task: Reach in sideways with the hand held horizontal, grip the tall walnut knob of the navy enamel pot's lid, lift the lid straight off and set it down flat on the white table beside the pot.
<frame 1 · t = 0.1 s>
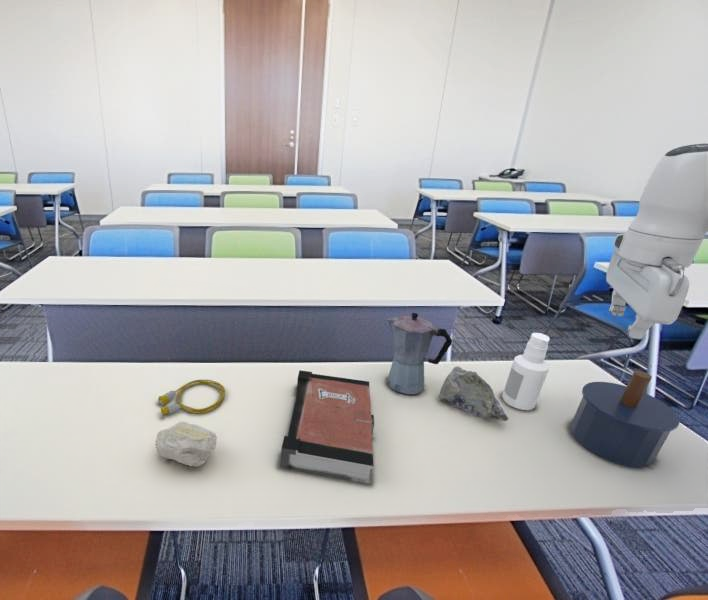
hand: (623, 324, 70), 29 cm above the table, tool pointing down, fingers open, 8 cm apart
book: (330, 429, 86), on the table
moka pot: (406, 386, 101), on the table
white rock: (186, 457, 78), on the table
extension cord: (192, 399, 95), on the table
pot: (609, 442, 84), on the table
mineral rock: (468, 411, 92), on the table
spray bottle: (517, 402, 96), on the table
lid: (627, 405, 80), point 9 cm above the table, touching pot
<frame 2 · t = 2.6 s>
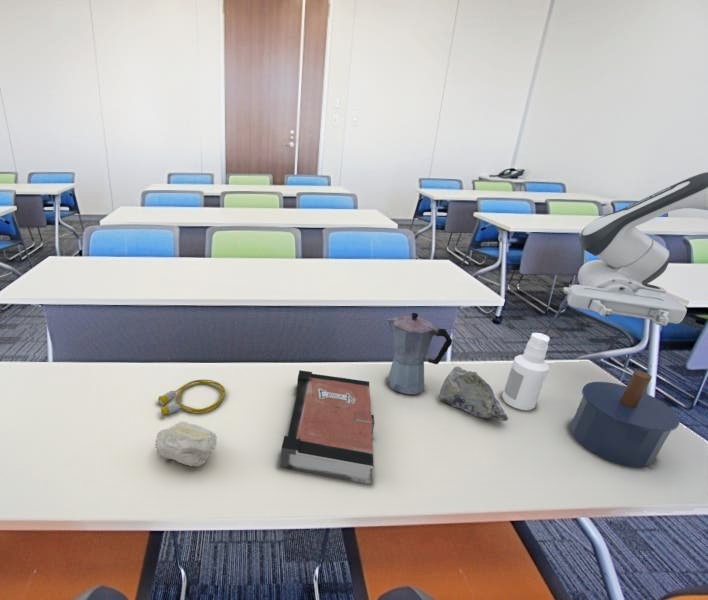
hand: (634, 317, 84), 24 cm above the table, tool horizontal, fingers open, 8 cm apart
nothing on the table moved.
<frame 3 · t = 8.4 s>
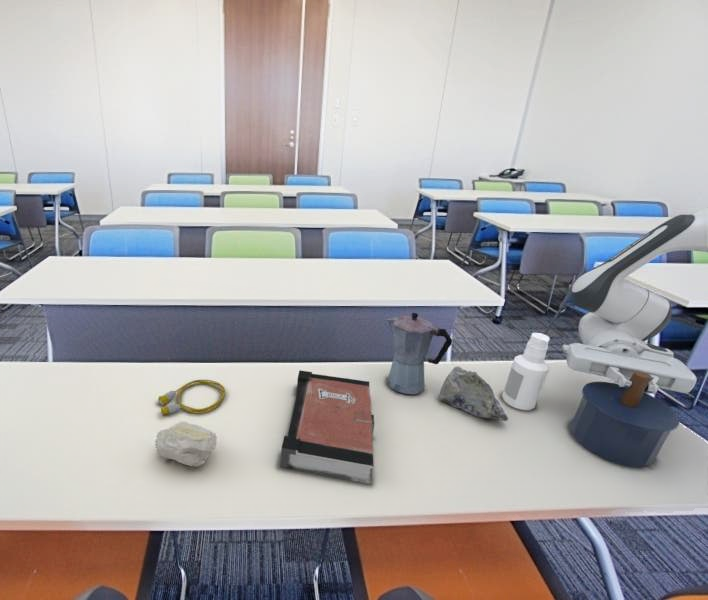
hand: (639, 387, 77), 15 cm above the table, tool horizontal, fingers closed on lid, 2 cm apart
lid: (627, 405, 80), point 10 cm above the table, touching gripper, pot
everything else where it was.
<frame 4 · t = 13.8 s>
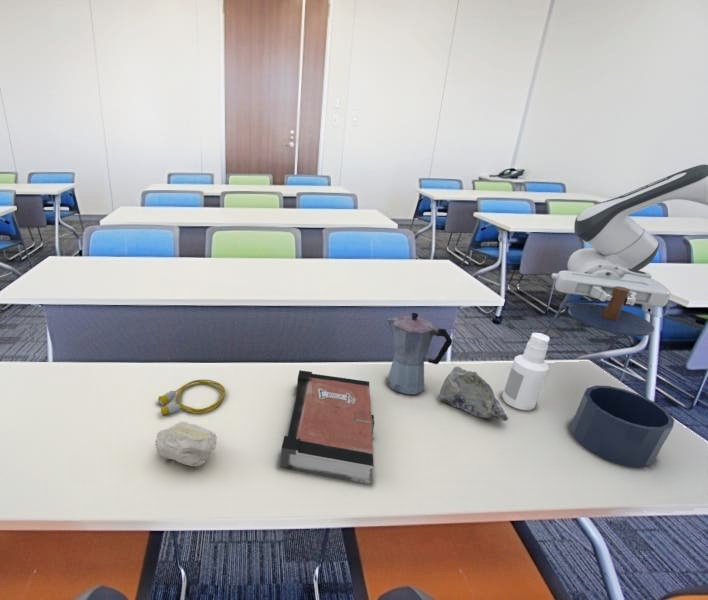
hand: (619, 300, 86), 27 cm above the table, tool horizontal, fingers closed on lid, 2 cm apart
lid: (608, 319, 88), point 21 cm above the table, touching gripper
everything else where it was.
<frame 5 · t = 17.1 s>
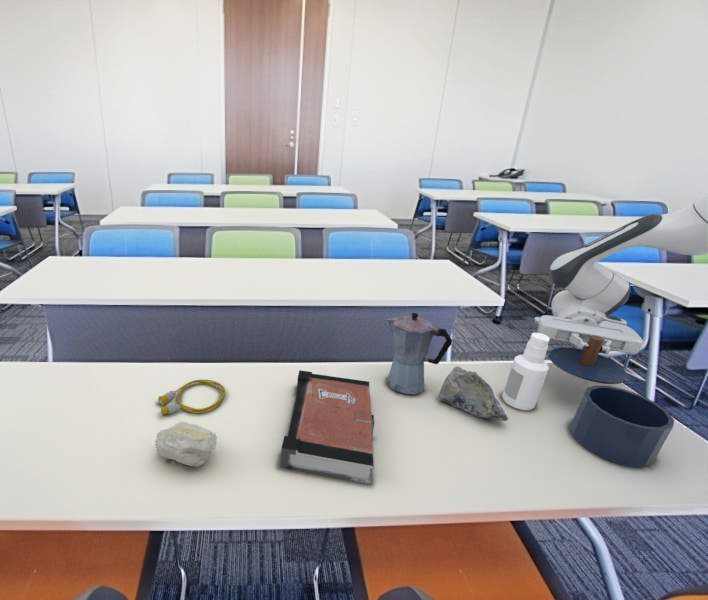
hand: (594, 349, 92), 14 cm above the table, tool horizontal, fingers closed on lid, 2 cm apart
lid: (585, 365, 95), point 9 cm above the table, touching gripper
everything else where it was.
when the fingers open (6 cm above the table, at t = 19.5 s): lid stays where it is, point 1 cm above the table.
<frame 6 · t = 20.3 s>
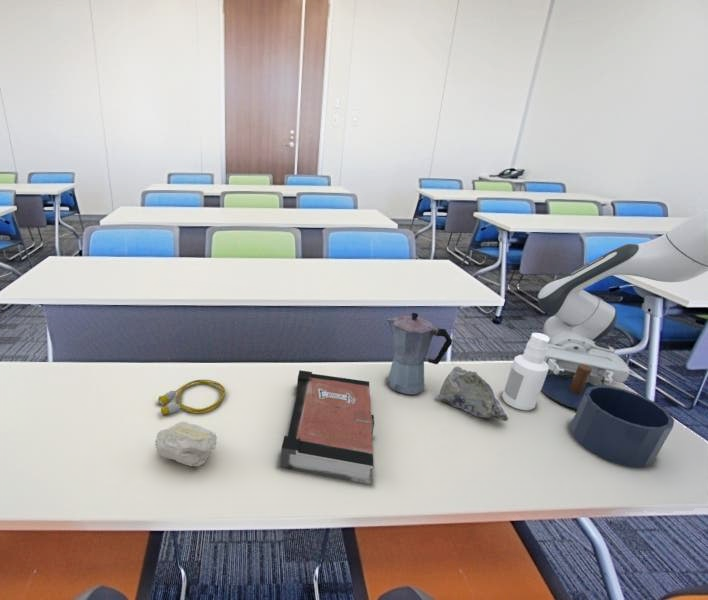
hand: (583, 377, 95), 6 cm above the table, tool horizontal, fingers open, 8 cm apart
lid: (574, 393, 98), point 1 cm above the table
everything else where it was.
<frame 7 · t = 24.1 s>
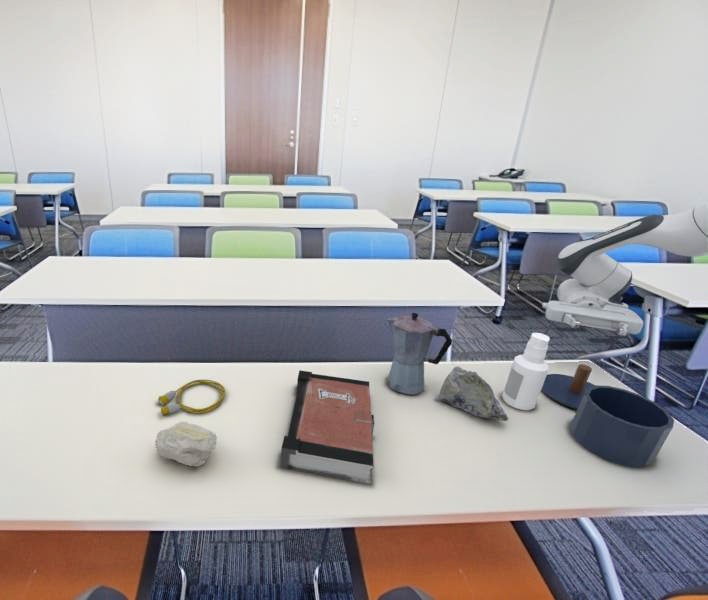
hand: (599, 329, 100), 14 cm above the table, tool horizontal, fingers open, 8 cm apart
nothing on the table moved.
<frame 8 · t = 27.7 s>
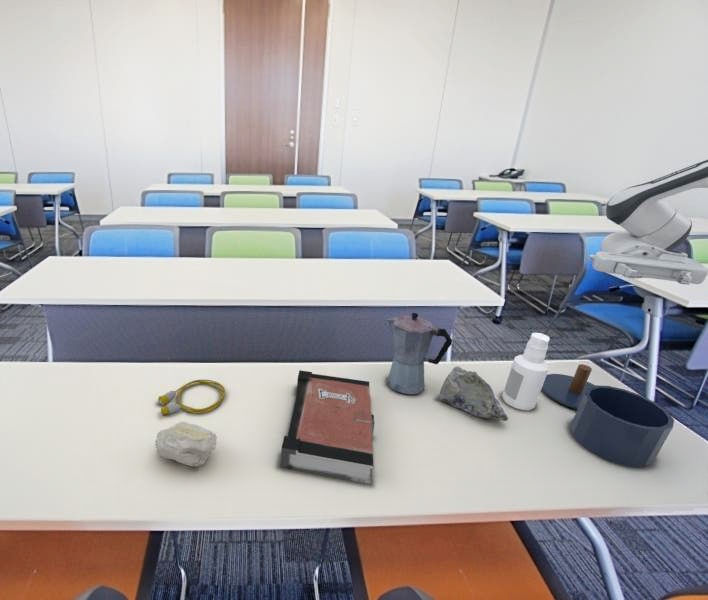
hand: (658, 277, 89), 30 cm above the table, tool horizontal, fingers open, 8 cm apart
nothing on the table moved.
at the end: lid inside the target area (0.1 cm from its centre), point 0.6 cm above the table; lid tilted 0°; the gripper is holding nothing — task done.
